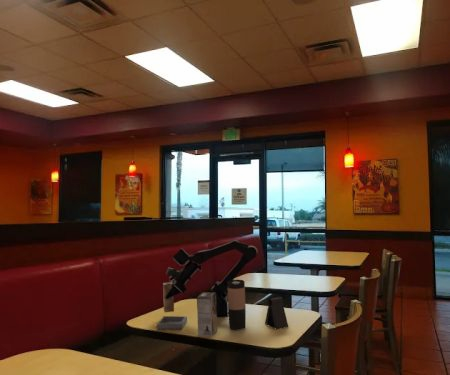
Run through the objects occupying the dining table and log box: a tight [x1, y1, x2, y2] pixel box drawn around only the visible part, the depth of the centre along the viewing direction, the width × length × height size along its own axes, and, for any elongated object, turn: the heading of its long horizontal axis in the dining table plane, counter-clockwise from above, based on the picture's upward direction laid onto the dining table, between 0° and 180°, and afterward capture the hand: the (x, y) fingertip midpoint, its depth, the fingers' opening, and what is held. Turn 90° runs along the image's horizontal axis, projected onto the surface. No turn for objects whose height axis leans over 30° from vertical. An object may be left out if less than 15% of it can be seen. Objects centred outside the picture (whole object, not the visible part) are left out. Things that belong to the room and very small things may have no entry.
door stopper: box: [264, 296, 289, 330], centre depth 167 cm, size 9×6×12 cm, turn 29°
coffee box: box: [196, 291, 218, 338], centre depth 160 cm, size 9×6×16 cm
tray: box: [156, 315, 188, 331], centre depth 171 cm, size 11×11×2 cm
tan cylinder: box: [162, 282, 175, 313], centre depth 183 cm, size 4×4×13 cm
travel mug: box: [227, 279, 247, 331], centre depth 166 cm, size 8×8×20 cm
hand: (165, 297), depth 183 cm, fingers closed on tan cylinder, 4 cm apart
